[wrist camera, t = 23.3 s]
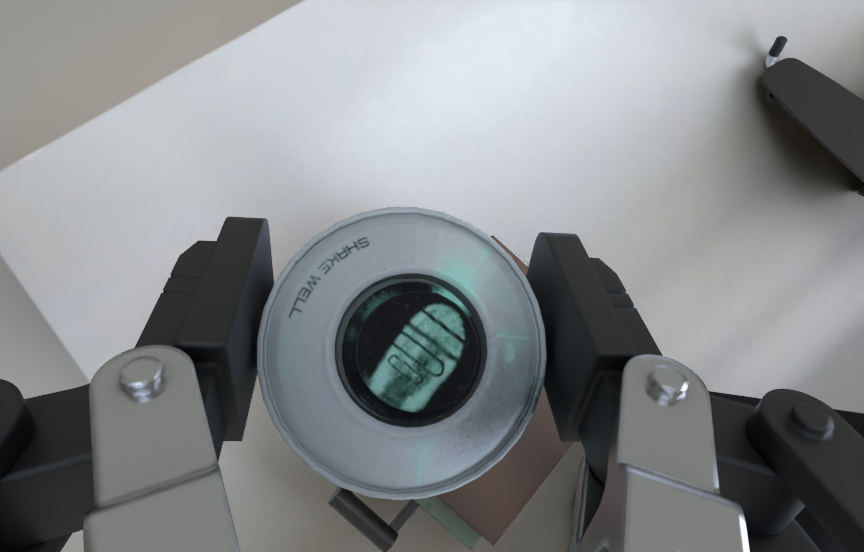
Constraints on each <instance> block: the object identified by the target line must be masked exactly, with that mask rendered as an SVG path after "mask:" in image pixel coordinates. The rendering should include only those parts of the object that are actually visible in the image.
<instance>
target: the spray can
mask: <svg viewBox="0 0 864 552" xmlns="http://www.w3.org/2000/svg"><path fill="white" fill-rule="evenodd" d="M546 359H547V354H546V337H545V328H544V324H543V320H542V316H541V312H540V308H539V304H538V301H537V299H536V297H535V295H534V293H533V291H532V288H531V286H530V284H529V282H528V280H527V278H526V276H525V275H524V274H523V272H522V271H521V269H520V268H519V267H518V265H517V264H516V263H515V261H514V260H513V258H512V257H511V256H510V255H509V254H508V253H507V252H506V251H505V250H504V249H503V248H502V247H501V246H500V245H499V244H498V243H497V242H496V241H494V240H493V239H492V238H491V237H490V236H488V235H487V234H485V233H484V232H482V231H480V230H479V229H477V228H476V227H474V226H473V225H471V224H470V223H468V222H465V221H463V220H460V219H458V218H455V217H453V216H450V215H448V214H445V213H443V212H438V211H432V210H427V209H422V208H417V207H388V208H383V209H378V210H373V211H368V212H363V213H360V214H357V215H355V216H352V217H350V218H347V219H345V220H342V221H340V222H338V223H335V224H334V225H332V226H331V227H329V228H328V229H326V230H325V231H323V232H321V233H320V234H318V235H317V236H315V237H314V238H312V239H311V240H310V241H309V242H308V243H307V244H306V245H305V246H304V247H303V248H302V249H301V250H300V251H299V252H298V253H297V254H296V255H295V256H294V257H293V258H292V259H291V260H290V261H289V263H288V264H287V266H286V267H285V269H284V270H283V272H282V273H281V275H280V276H279V277H278V279H277V280H276V282H275V284H274V286H273V288H272V291H271V293H270V295H269V298H268V300H267V302H266V305H265V307H264V309H263V313H262V318H261V323H260V328H259V332H258V337H257V371H258V376H259V381H260V386H261V392H262V397H263V400H264V402H265V404H266V407H267V409H268V412H269V414H270V416H271V419H272V421H273V423H274V426H275V427H276V429H277V430H278V431H279V433H280V434H281V436H282V437H283V439H284V440H285V442H286V443H287V444H288V446H289V447H290V449H291V450H292V451H293V452H294V453H295V454H296V455H297V456H298V457H299V458H300V459H301V460H302V461H303V462H304V463H305V464H307V465H308V466H309V467H310V468H311V469H312V470H313V471H314V472H316V473H318V474H319V475H321V476H322V477H324V478H326V479H327V480H329V481H331V482H332V483H334V484H335V485H337V486H339V487H342V488H344V489H347V490H350V491H353V492H356V493H358V494H361V495H364V496H367V497H375V498H382V499H389V500H408V499H422V498H428V497H432V496H435V495H439V494H442V493H446V492H449V491H453V490H455V489H457V488H459V487H461V486H463V485H465V484H467V483H469V482H471V481H473V480H475V479H476V478H478V477H480V476H481V475H482V474H484V473H485V472H486V471H488V470H489V469H490V468H491V467H493V466H494V465H495V464H496V463H498V462H499V461H500V460H501V459H502V458H503V457H504V456H505V455H506V454H507V452H508V451H509V450H510V449H511V448H512V446H513V445H514V444H515V443H516V442H517V441H518V439H519V438H520V437H521V435H522V433H523V432H524V430H525V428H526V426H527V424H528V423H529V421H530V419H531V417H532V415H533V414H534V412H535V409H536V405H537V402H538V399H539V396H540V393H541V390H542V387H543V382H544V375H545V367H546Z"/></svg>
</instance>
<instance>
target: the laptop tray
mask: <svg viewBox="0 0 864 552" xmlns="http://www.w3.org/2000/svg"><path fill="white" fill-rule="evenodd" d="M786 42H787V38H786V37H783V36H779V37H777V39H776V40H775V42H774V44H773V46H772V48H771V49H770V51H769V54H768V56H767V58H766V67H767V69H766V70H765V72H764V74H763V76H762V81H763V84H764V85H765V87H766V88H767V90H766V92H765V95H766V96H767V99H766V101H767V102H768V103H774V104H777V105H779V106H784V107H785V109H786V110H787V111H788V112H789V113H790V114H791V115H792V116H793V117H794V118H795V119H796V120H797V121H798V122H799V123H800V124H801V125H802V126H803V127H804V128H805V129H806V130H807V131H808V132H809V133H810V134H811V135H813V136H814V137H815V138H816V139H817V140H818V141H819V142H820V143H821V144H822V145H823V146H824V147H825V148H826V149H827V150H828V151H830V152H831V153H832V154H833V155H834V156H835V157H836V158H837V159H838V160H839V161H841V162H842V163H843V164H844V165H845V166H846V167H847V168H848V169H849V170H850V171H852V172H853V173H854V174H855V175H856V176H857V177H858V178H859V179H860V180H862V181H863V182H864V101H863V100H862V99H860V98H859V97H857V96H856V95H854V94H853V93H851V92H850V91H848V90H847V89H846V88H844V87H843V86H841V85H840V84H838V83H836V82H835V81H833V80H831V79H830V78H828V77H827V76H825V75H823V74H822V73H820V72H818V71H817V70H815V69H813V68H812V67H810V66H808V65H807V64H805V63H803V62H801V61H800V60H797V59H795V58H786V59H783V60H781V61H778V62H776V59H777V57H778V56H779V54H780V53H781V51H782V49H783V47H784V46H785V44H786ZM857 193H858V194H859V195H861V196H864V187H863V188H860V189H858V191H857Z"/></svg>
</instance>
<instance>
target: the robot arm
mask: <svg viewBox="0 0 864 552" xmlns="http://www.w3.org/2000/svg"><path fill="white" fill-rule="evenodd" d="M526 278H527V280H528V282H529V284H530V286H531V288H532V291H533V293H534V295H535V297H536V299H537V301H538V304H539V308H540V312H541V316H542V320H543V324H544V328H545V337H546V354H547V359H546V367H545V375H544V382H543V385H544V389H545V392H546V395H547V398H548V402H549V405H550V408H551V411H552V414H553V418H554V421H555V424H556V427H557V431H558V434H559V437H560V440H561V442H582V444H583V447H584V450H585V455H584V457H583V459H582V461H581V464H580V468H579V474H578V482H577V489H576V496H575V504H574V511H573V518H572V525H571V533H570V540H569V547H568V552H821V551H820V549H819V548H818V547H817V546H816V544H815V543H814V542H813V541H812V539H811V538H810V537H809V536H808V534H807V533H806V532H805V531H804V529H803V528H802V527H801V526H800V525H799V523H798V522H797V521H796V520H795V517H796V515H797V514H798V513H799V512H800V511H801V510H802V509H803V508H804V507H806V508H807V509H808V510H809V512H810V513H811V514H812V515H813V516H814V518H815V519H816V520H817V521H818V522H819V524H820V525H821V526H822V527H823V528H824V530H825V531H826V532H827V533H828V534H829V536H830V537H831V538H832V539H833V540H834V542H835V543H836V544H837V545H838V546H839V548H840V549H841V550H842V551H843V552H864V438H863V437H862V436H861V435H860V434H859V433H858V432H857V431H856V430H855V429H854V428H853V427H852V426H851V425H850V424H849V423H848V422H847V421H846V420H845V419H844V418H843V417H841V416H840V415H839V414H838V413H837V412H836V411H835V410H833V409H832V408H831V407H829V406H828V405H826V404H825V403H823V402H822V401H820V400H818V399H816V398H814V397H812V396H810V395H807V394H805V393H802V392H799V391H795V390H790V389H776V390H772V391H770V392H768V393H766V394H765V395H764V397H763V398H762V399H761V401H760V402H759V404H758V405H757V406H752V405H748V404H745V403H741V402H737V401H733V400H730V399H726V398H722V397H718V396H715V395H712V394H709V392H708V390H707V387H706V386H705V384H704V383H703V381H702V380H701V379H700V378H699V377H698V376H697V375H696V374H695V373H694V372H693V371H692V370H690V369H689V368H688V367H686V366H685V365H683V364H681V363H679V362H677V361H675V360H673V359H670V358H667V357H664V356H662V354H661V352H660V350H659V349H658V347H657V345H656V343H655V341H654V340H653V338H652V336H651V334H650V332H649V331H648V329H647V327H646V325H645V324H644V322H643V320H642V318H641V316H640V315H639V313H638V311H637V309H636V308H634V304H633V302H632V300H631V299H630V297H629V295H628V294H626V290H625V288H624V286H623V284H622V283H621V281H620V279H619V277H618V276H617V274H616V273H615V272H614V271H613V270H612V269H611V268H609V267H608V266H607V265H606V264H605V263H604V262H602V261H601V260H600V259H599V258H589V257H588V255H587V253H586V251H585V249H584V247H583V245H582V243H581V241H580V239H579V237H578V236H577V235H576V234H567V233H546V232H541V233H539V234H538V236H537V238H536V241H535V244H534V248H533V252H532V256H531V259H530V263H529V267H528V271H527V274H526ZM273 286H274V280H273V268H272V256H271V245H270V234H269V225H268V221H267V219H266V218H245V217H227V218H226V220H225V222H224V224H223V227H222V229H221V232H220V234H219V237H218V239H217V241H197V242H196V243H195V244H194V245H192V246H191V247H190V248H189V249H187V250H186V251H185V252H184V253H183V254H181V255H180V256H179V258H178V260H177V262H176V264H175V266H174V268H173V270H172V272H171V278H169V279H168V281H167V283H166V285H165V287H164V289H163V290H164V291H163V293H161V295H160V297H159V299H158V301H157V303H156V305H155V307H154V309H153V311H152V313H151V315H150V317H149V320H148V322H147V324H146V326H145V328H144V330H143V332H142V334H141V336H140V338H139V340H138V342H137V344H136V346H135V348H134V349H130V350H128V351H125V352H123V353H121V354H119V355H117V356H115V357H113V358H112V359H110V360H109V361H107V362H106V363H105V364H104V365H103V366H102V367H100V369H99V370H98V371H97V372H96V373H95V375H94V377H93V378H92V380H91V383H90V384H87V385H84V386H81V387H78V388H73V389H69V390H65V391H60V392H56V393H51V394H47V395H42V396H37V397H33V398H29V399H24V398H23V396H22V394H21V393H20V391H19V389H18V388H17V387H16V386H15V385H14V384H12V383H10V382H8V381H6V380H2V379H0V552H60V551H61V550H62V548H63V547H64V545H65V543H66V542H67V540H68V539H69V537H70V536H71V534H72V533H73V532H77V531H80V530H84V531H83V538H84V552H240V548H239V544H238V540H237V536H236V531H235V527H234V523H233V519H232V515H231V511H230V507H229V503H228V499H227V495H226V491H225V487H224V483H223V479H222V475H221V471H220V467H219V465H218V460H219V456H220V452H221V448H222V445H223V441H242V438H243V433H244V429H245V425H246V420H247V416H248V412H249V407H250V403H251V399H252V394H253V390H254V386H255V381H256V377H257V372H258V371H257V337H258V332H259V328H260V323H261V318H262V313H263V309H264V307H265V305H266V302H267V300H268V298H269V295H270V293H271V291H272V288H273Z"/></svg>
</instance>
